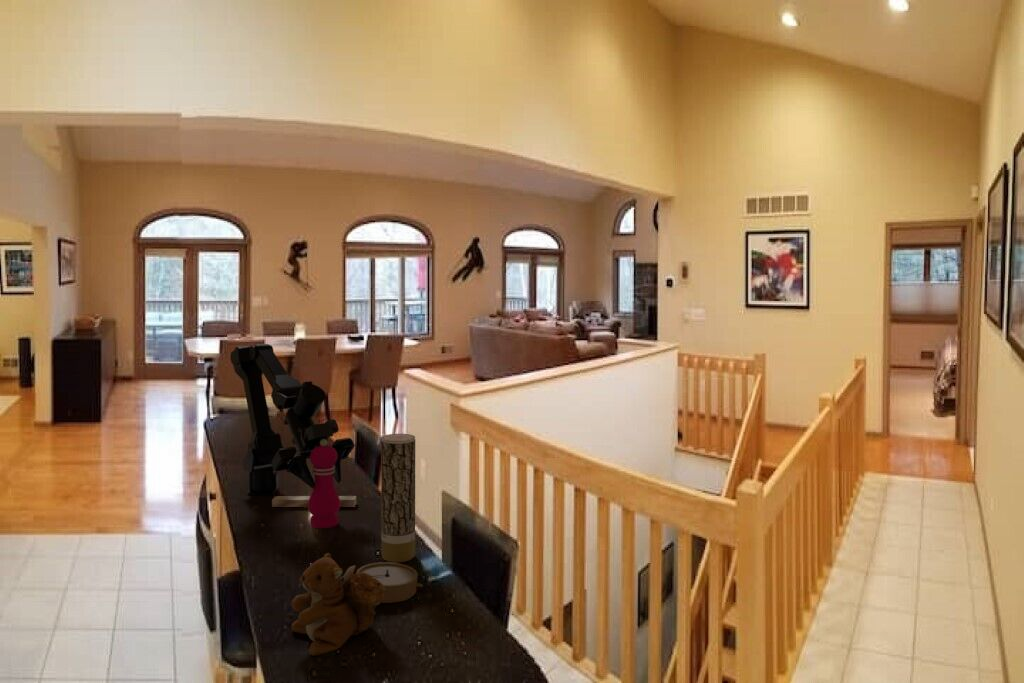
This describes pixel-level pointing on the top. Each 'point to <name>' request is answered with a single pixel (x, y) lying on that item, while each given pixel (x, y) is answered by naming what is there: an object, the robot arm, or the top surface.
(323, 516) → the pepper mill
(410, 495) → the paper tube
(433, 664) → the top surface
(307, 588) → the stuffed squirrel
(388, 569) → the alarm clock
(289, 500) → the flat beige strip
